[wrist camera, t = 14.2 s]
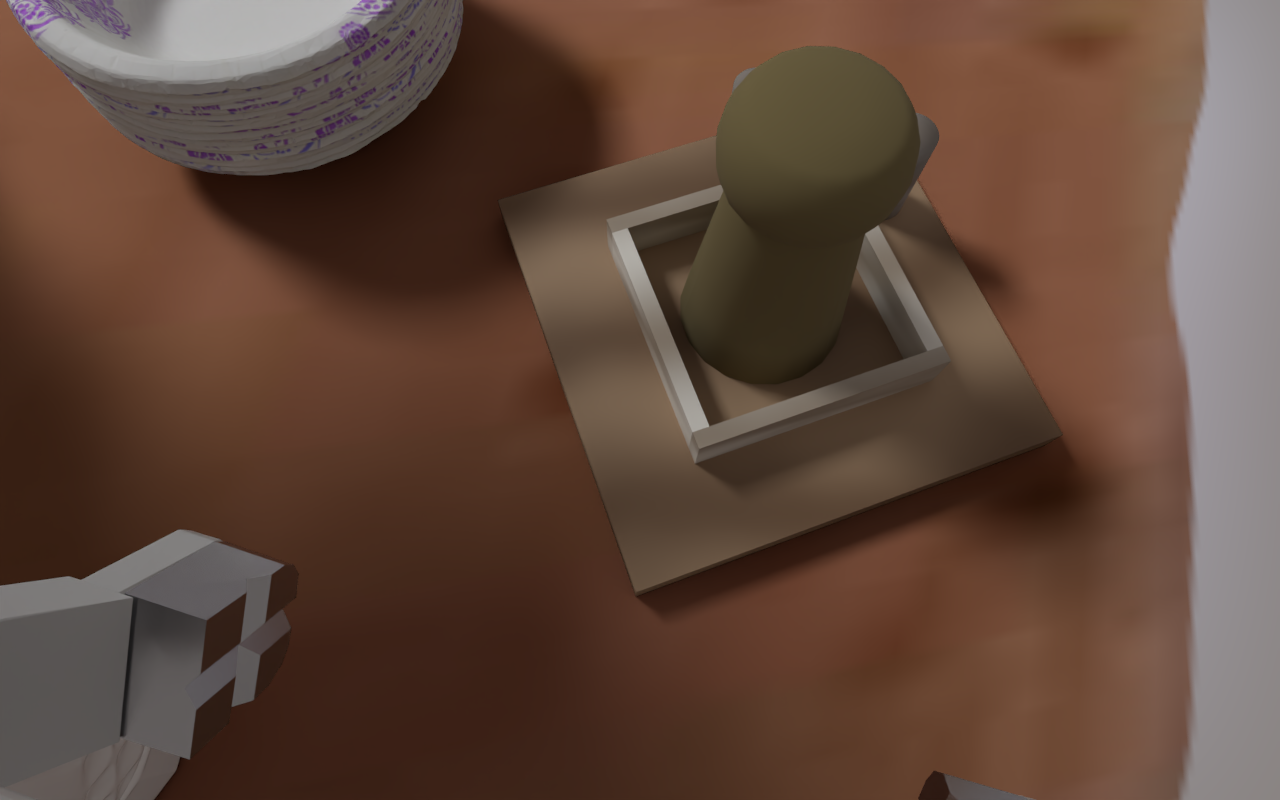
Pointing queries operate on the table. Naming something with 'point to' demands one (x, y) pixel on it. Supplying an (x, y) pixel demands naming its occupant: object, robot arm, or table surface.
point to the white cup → (105, 775)
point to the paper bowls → (248, 72)
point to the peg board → (758, 413)
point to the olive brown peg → (795, 209)
